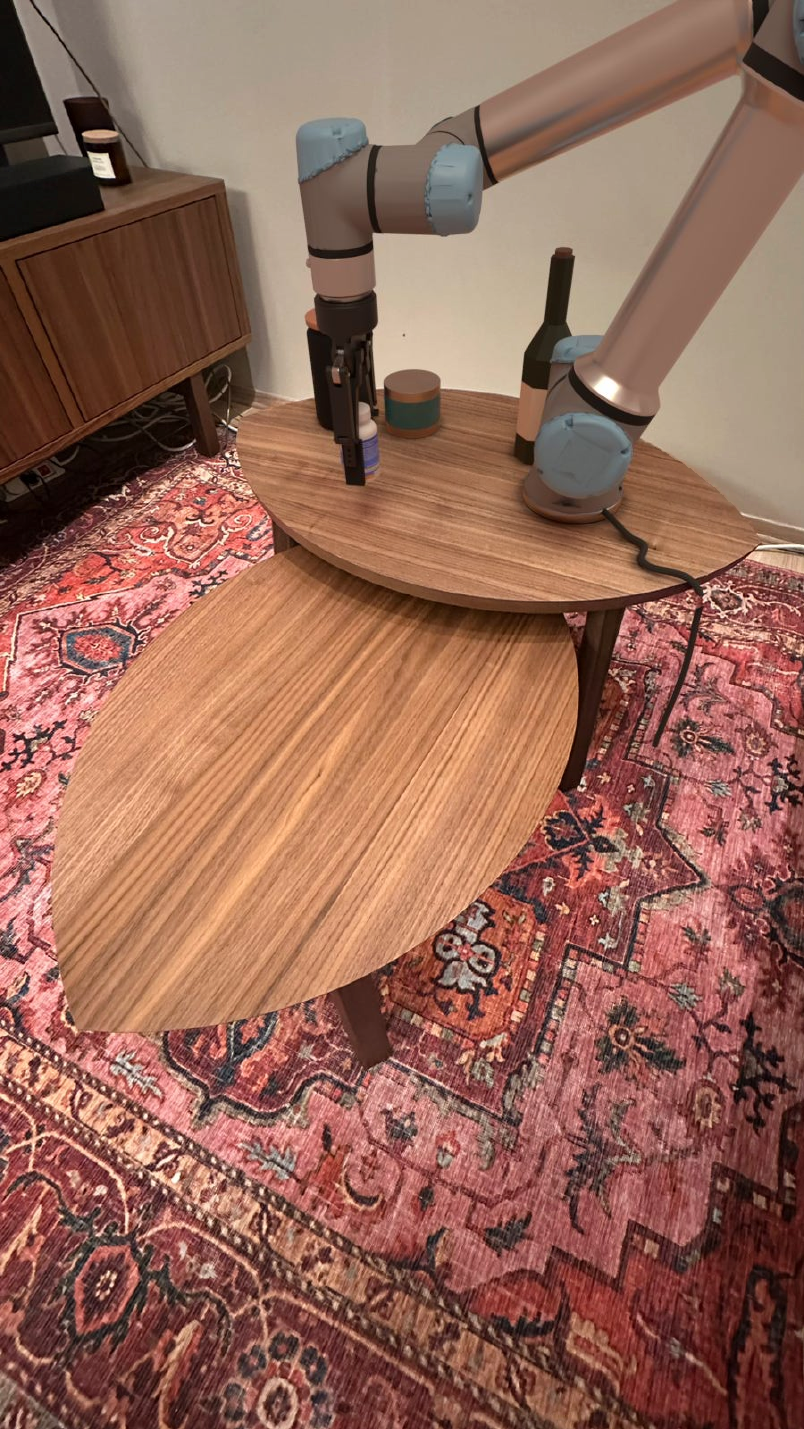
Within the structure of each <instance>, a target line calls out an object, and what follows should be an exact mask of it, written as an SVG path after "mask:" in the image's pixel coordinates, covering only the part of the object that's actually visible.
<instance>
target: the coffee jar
mask: <svg viewBox="0 0 804 1429" xmlns="http://www.w3.org/2000/svg"><path fill="white" fill-rule="evenodd" d="M304 321H305V325H306V326H307V327H308V328H307V330H306V340H307V348H308V355H309V356H308V357H309V363H310V365H309V366H310V372H311V380H312V388H313V389H312V390H313V398H314V405H315V411H316V412H315V413H316V419H317V421H318V422H319V423H320V424H321V425H322V427H323V428H324V429H326V430H328V431H332V432H334V430H333V420H332V411H331V402H330V393H329V385H328V381H327V377H326V373H325V370H326V366H333V363H332V361H331V348H332V347H333V340H332V338H331V337H330V336H328V335H326V334H323V333H322V332H321V331H320V330H319V329H318V327H317V321H316V313H315V307H314V308H311V309H310V310H308V311H306V313H305V314H304ZM373 417H374V416H371V418H373Z"/></svg>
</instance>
